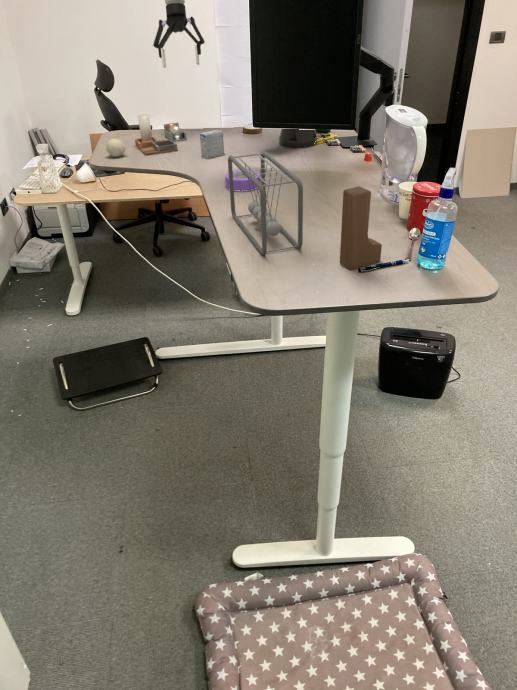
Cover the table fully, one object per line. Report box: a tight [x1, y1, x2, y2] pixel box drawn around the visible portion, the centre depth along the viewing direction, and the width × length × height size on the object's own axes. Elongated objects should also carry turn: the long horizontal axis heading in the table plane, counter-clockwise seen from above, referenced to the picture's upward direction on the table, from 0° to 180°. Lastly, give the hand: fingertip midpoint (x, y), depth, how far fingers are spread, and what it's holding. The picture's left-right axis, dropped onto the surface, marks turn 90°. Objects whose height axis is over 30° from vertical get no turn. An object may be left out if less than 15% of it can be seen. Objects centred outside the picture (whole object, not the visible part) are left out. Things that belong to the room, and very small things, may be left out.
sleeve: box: [137, 114, 153, 143], centre depth 220 cm, size 5×5×11 cm
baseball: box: [105, 138, 126, 158], centre depth 211 cm, size 7×7×7 cm
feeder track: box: [163, 122, 188, 143], centre depth 231 cm, size 11×6×5 cm, turn 24°
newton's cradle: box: [227, 150, 304, 256], centre depth 141 cm, size 30×10×18 cm, turn 18°
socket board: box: [134, 136, 178, 156], centre depth 220 cm, size 17×13×3 cm
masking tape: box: [224, 169, 261, 192], centre depth 178 cm, size 12×12×4 cm
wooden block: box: [339, 186, 383, 271], centre depth 124 cm, size 9×4×18 cm, turn 119°
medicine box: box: [199, 129, 225, 160], centre depth 206 cm, size 8×4×9 cm, turn 128°
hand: (181, 65), depth 216 cm, fingers open, 13 cm apart
